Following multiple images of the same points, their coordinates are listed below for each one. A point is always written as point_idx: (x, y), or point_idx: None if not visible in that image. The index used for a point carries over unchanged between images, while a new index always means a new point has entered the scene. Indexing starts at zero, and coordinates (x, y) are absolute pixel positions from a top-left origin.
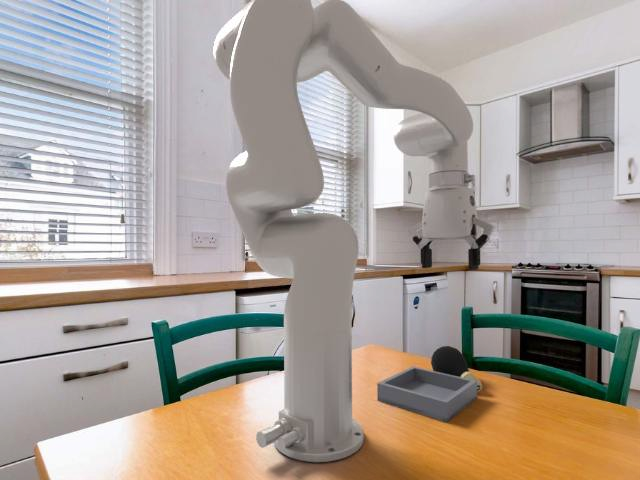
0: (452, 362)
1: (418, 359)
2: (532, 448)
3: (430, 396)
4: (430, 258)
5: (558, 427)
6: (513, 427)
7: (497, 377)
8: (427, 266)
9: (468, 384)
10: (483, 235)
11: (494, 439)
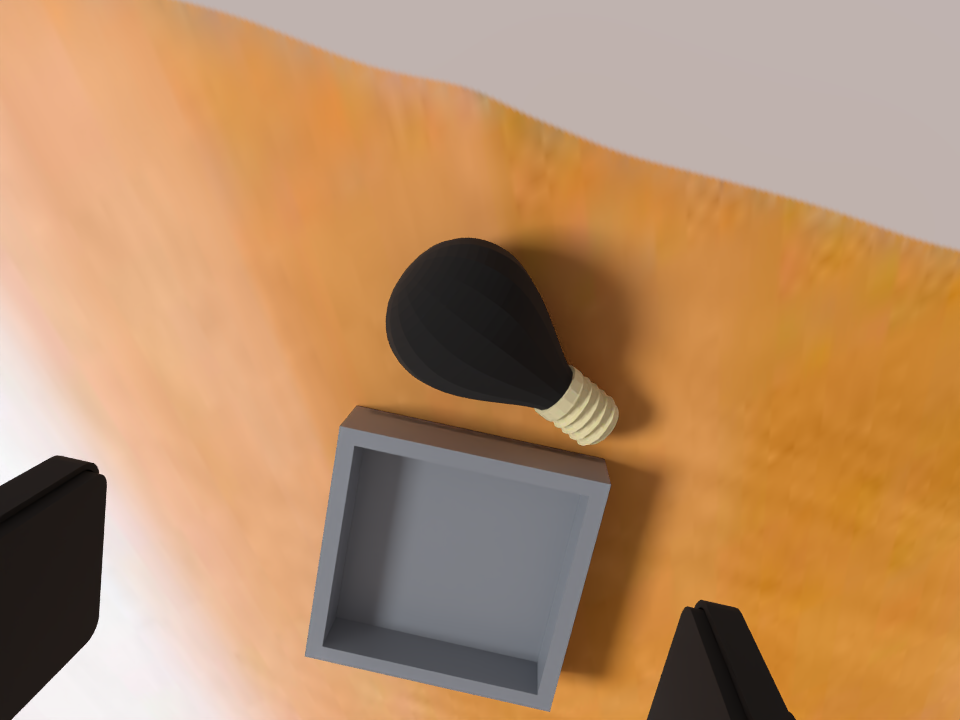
0: (497, 398)
1: (266, 79)
2: None
3: (494, 689)
4: (16, 568)
5: (843, 569)
6: None
7: (659, 176)
8: (93, 592)
9: (586, 535)
10: None
11: None
